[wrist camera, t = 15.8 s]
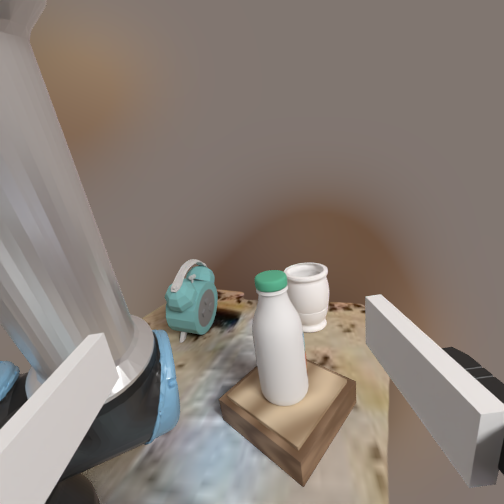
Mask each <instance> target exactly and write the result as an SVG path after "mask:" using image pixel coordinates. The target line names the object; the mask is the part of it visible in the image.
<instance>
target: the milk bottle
mask: <svg viewBox="0 0 504 504" xmlns="http://www.w3.org/2000/svg"><path fill="white" fill-rule="evenodd" d="M255 286H256V292H257V293H258V295H259V297H258V304H257V308H256V311H255V314H254V318H253V324H252V332H253V341H254V348H255V354H256V361H257V367H258V373H259V379H260V385H261V390H262V393H263V395H264V396H265V398H266V399H267V400H268V401H269V402H271V403H273V404H275V405H278V406H291V405H295V404H297V403H299V402H300V401H301V400H302V399H303V398H304V397H305V395H306V394H307V391H308V373H307V363H306V352H305V343H304V335H303V328H302V323H301V319H300V317H299V314H298V312H297V311H296V309H295V307H294V306H293V304H292V303H291V301H290V299H289V297H288V294H287V289H288V286H287V276H286V274H285V273H284V272H282V271H279V270H270V271H265V272H261V273H259V274H258V275H257V276H256V277H255Z"/></svg>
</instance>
